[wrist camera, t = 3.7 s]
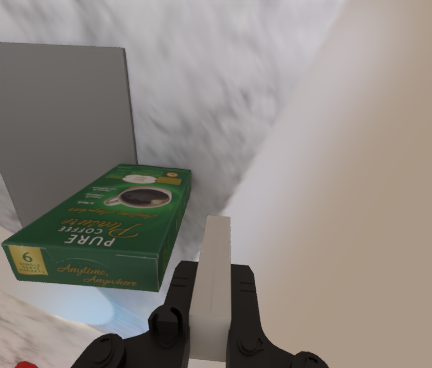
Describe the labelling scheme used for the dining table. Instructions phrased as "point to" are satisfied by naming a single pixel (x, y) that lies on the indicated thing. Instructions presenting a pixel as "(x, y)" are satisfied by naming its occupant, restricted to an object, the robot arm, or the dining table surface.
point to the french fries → (25, 365)
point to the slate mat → (61, 121)
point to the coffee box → (106, 232)
